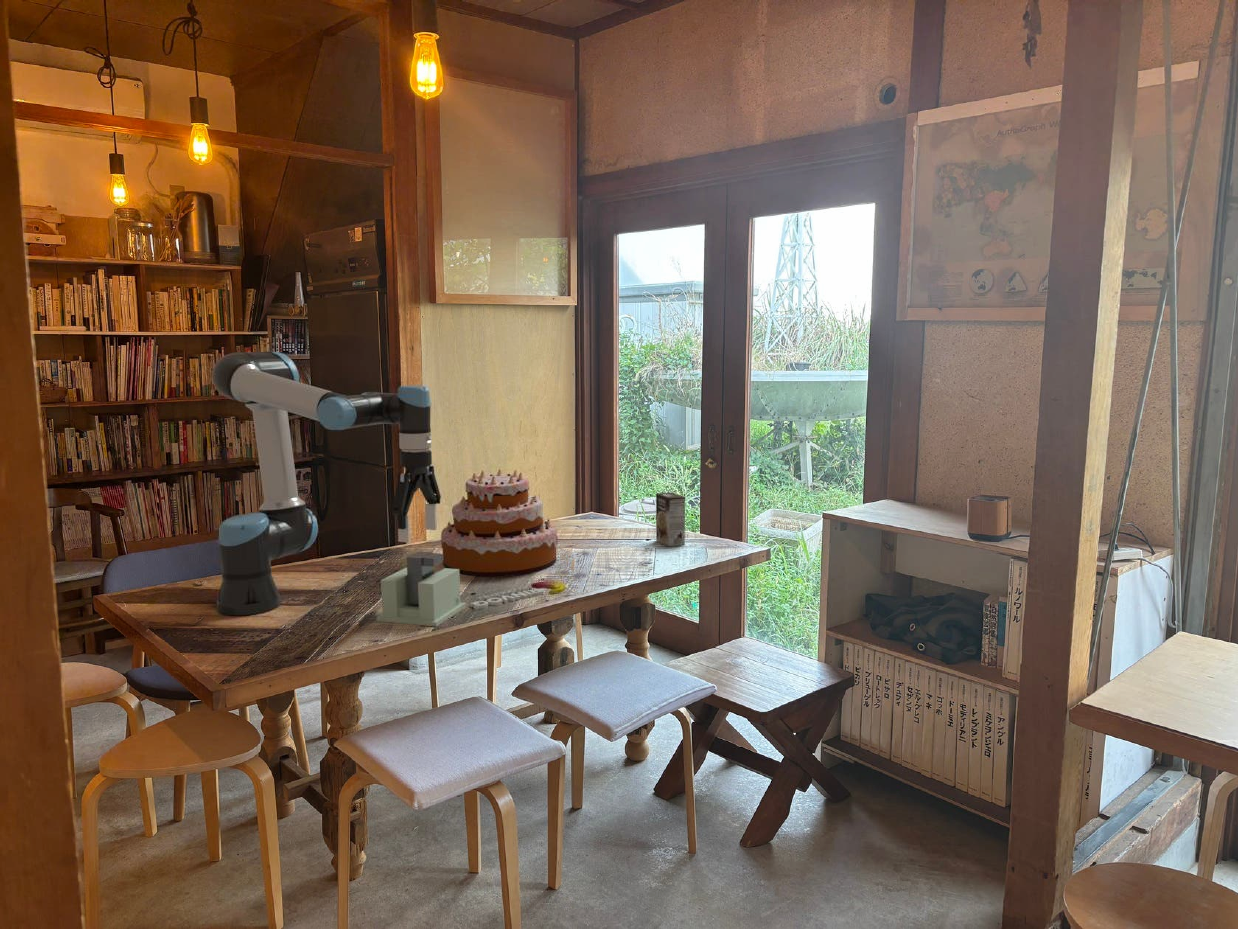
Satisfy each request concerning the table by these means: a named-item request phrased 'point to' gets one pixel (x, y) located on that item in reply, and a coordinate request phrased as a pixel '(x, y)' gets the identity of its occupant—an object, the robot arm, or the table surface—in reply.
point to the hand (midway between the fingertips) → (418, 535)
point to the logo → (517, 594)
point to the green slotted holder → (421, 598)
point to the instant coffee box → (670, 519)
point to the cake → (498, 529)
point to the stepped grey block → (420, 572)
